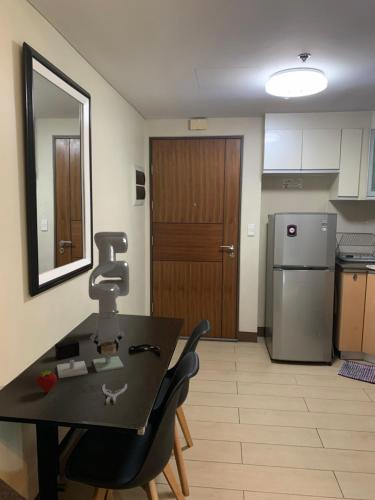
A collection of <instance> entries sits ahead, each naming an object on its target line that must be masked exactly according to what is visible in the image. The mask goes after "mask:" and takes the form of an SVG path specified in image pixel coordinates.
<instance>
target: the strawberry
mask: <svg viewBox="0 0 375 500" xmlns="http://www.w3.org/2000/svg"><path fill="white" fill-rule="evenodd" d="M57 380H58V377H57V375H56V374H54V372H52V371H51V370H50V371H48V370H45V371H41V372H40V374H39V375H38V376H37V378H36V382H37V386H39V388H41V390H43V391H44V393H49V392H50V391H51V390H52V389H53V388H54V386H55V385H56V383H57Z"/></svg>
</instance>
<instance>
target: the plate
mask: <svg viewBox="0 0 375 500" xmlns="http://www.w3.org/2000/svg"><path fill="white" fill-rule="evenodd" d="M92 363H93V366H94V368H95V371H96V373H101V372H108V371H115V370H120V369H124V368H125V366H124V364H123V362H122V360H121V359H120V356H118V355H116V356H111V355H104V357H102V358H95V359H92Z"/></svg>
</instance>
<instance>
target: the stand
mask: <svg viewBox="0 0 375 500" xmlns="http://www.w3.org/2000/svg"><path fill="white" fill-rule="evenodd" d="M56 367H57V369H56V370H57V376H58V379H64V378H68V377H69V378H70V377H75V376H81V375H88V374H89V373H88V368H87V366H86V363H85V360H80V361H75V359H69V363H68V362H65V363H61V364H56Z"/></svg>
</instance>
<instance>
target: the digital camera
mask: <svg viewBox="0 0 375 500" xmlns="http://www.w3.org/2000/svg"><path fill="white" fill-rule="evenodd" d="M54 347H55V359H56V360H58V361H63V360H66V359H67V360H68V359H73V358H77V357H79V356H80V341H78V340H77V339H73V340H69V341H64V342H57V343H55V346H54Z"/></svg>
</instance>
